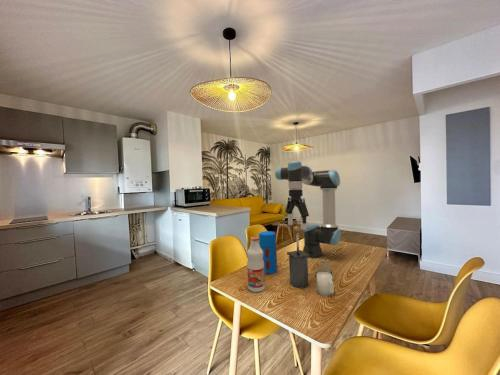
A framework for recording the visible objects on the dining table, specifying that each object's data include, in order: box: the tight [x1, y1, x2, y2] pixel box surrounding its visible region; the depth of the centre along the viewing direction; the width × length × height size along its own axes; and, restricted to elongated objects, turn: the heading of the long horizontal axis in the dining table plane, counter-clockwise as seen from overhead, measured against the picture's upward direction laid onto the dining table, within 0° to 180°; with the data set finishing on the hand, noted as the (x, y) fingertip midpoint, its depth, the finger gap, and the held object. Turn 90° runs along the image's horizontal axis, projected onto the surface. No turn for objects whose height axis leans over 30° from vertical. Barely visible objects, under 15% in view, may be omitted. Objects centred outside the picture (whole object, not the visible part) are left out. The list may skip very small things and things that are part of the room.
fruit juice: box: [246, 236, 266, 293], centre depth 114 cm, size 9×9×28 cm
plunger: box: [293, 225, 302, 255], centre depth 117 cm, size 8×8×18 cm
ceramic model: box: [313, 260, 335, 283], centre depth 123 cm, size 14×11×10 cm
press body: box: [286, 249, 310, 289], centre depth 118 cm, size 10×13×17 cm
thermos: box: [258, 230, 278, 276], centre depth 135 cm, size 11×11×25 cm
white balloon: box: [316, 272, 335, 297], centre depth 106 cm, size 8×10×9 cm
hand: (296, 227), depth 116 cm, fingers open, 13 cm apart
